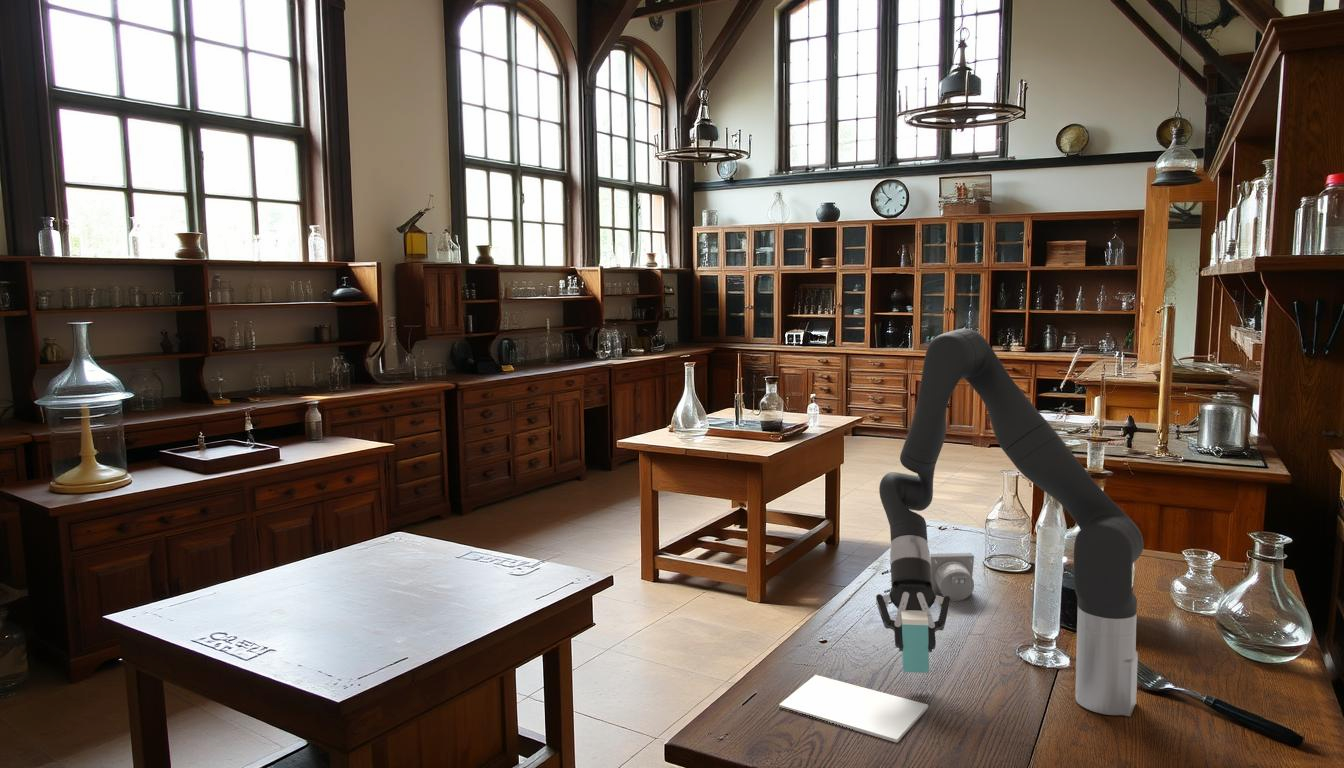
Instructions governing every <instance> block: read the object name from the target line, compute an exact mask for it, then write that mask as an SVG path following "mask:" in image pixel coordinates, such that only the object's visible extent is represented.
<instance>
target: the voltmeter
mask: <svg viewBox="0 0 1344 768" xmlns="http://www.w3.org/2000/svg"><path fill="white" fill-rule="evenodd" d="M974 560H975V555H973V554H972V553H971V552H963V553H962V552H957V553H956V552H955V553H954V552H953V553H930V562H931V575H932V588H933V591H934V592H935V594H941V595H942V597H945V596H949V597H950V601H952V600H960V601H963V600H965V599H968V598H969V596H970V595H972V594H973V591H974V589H975V583H974V582H975V581H974V579H973V576H974V575H973V573H974ZM889 573H891V569H890V570H888V569H886V571H882V572H881V575H882V576H883V575H886V574H889ZM891 589H892V587H891V588H890V589H887V590H884V591H883V593H884V594H886V593H890V591H891ZM890 604H891V605H892V604H893V603H892V602H891V601H889V604H888V605H890Z"/></svg>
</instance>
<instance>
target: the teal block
mask: <svg viewBox="0 0 1344 768" xmlns="http://www.w3.org/2000/svg"><path fill="white" fill-rule="evenodd" d="M901 619H902V624H901V628H902V638H903V651H901V662H902V665H901V666H902V671H903V673H916V674H917V673H918V674H920V673H921V674H923V673H924V674H929V673H930V658H929V657H930V656H929V655H930V652H929V650H928V645H929V643H928V617H927V612H923V611H918V610H905V611H901Z"/></svg>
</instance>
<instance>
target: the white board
mask: <svg viewBox="0 0 1344 768" xmlns="http://www.w3.org/2000/svg"><path fill="white" fill-rule="evenodd" d="M778 707H782V708H786V709H790V710H793V711H797V712H799V713H803V714H806V715H810V716H813V717H816V718H819V719H822V720H826V721H828V722H827V723H829V722H830V724H832V723H834V724H833V725H836V724H837V725H836V726H839V725H840V726H839V727H842V726H843V727H842V728H846V727H847V728H846V729H849V728H850V729H849V730H852V729H853V730H852V731H856V732H859V733H862V734H867V735H869V736H873V737H876V738H880V739H883V740H886V741H889V742H894V743H896V744H897V743H898V742H899V741H901V740H902V738H903V737H904V736H905V735H906V733H907V732H909V730H910V729H911V728H912V727H913V726H914V725H915V723H917V721H918V720H920V718H921V717H922V716H923V715H924V713H925V712H926V711H927V710H928V709H929V704H927V703H923V702H920V701H915V700H912V699H908V698H905V697H900V696H897V695H893V694H890V693H886V692H882V691H878V690H874V689H872V688H871V689H870V688H868V687H867V688H866V687H862V686H858V685H855V684H851V683H848V682H844V681H842V680H841V681H840V680H836V679H834V678H830V677H825V676H821V675H818V674H814V676H812V677H811V678H810V679H808V680H807V681H806V682H805V683H803V684H802V685H801V686H799V687H798V688H797V689H796V690H795V691H794V692H792V693H791V694H790V695H789V696H788V697H787V698H785V699H783V700H782V702H780V703H779V704H778ZM782 708H781V709H782ZM799 713H798V714H799ZM819 719H818V720H819ZM822 720H821V721H822ZM826 721H825V722H826Z"/></svg>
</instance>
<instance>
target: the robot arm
mask: <svg viewBox="0 0 1344 768" xmlns="http://www.w3.org/2000/svg"><path fill="white" fill-rule="evenodd" d="M963 379H964V380H965V381H966V382H967V383H968V384H969V385H970V387H971V388H972V389H973V390H974V391H975V392H976V393H977V395H978V396H979V397H980V399H981V400H982V402H983V404H984V406H985V408H986V410H987V413H988V417H989V420H990V423H991V426H992V430H993V433H994V434H993V435H994V436H995V439H996V441H997V444H998V445H999V447H1000V448H1001V449H1002V451H1003V452H1004V454H1005V455H1006V456H1007V457H1008V459H1009V460H1010V461H1011V462H1012V464H1013V465H1014V466H1015V468H1016V469H1017V470H1018V471H1019V472H1020V473H1021V474H1022V476H1024V477H1025V478H1026V479H1027V480H1029V481H1030V482H1031V483H1032V484H1034V485H1035V486H1037V487H1038V488H1039V489H1040V490H1042V491H1043V492H1045V493H1046V494H1048V495H1049V496H1051V498H1053V499H1054V500H1055V501H1057V503H1059V504H1060V505H1061V506H1062V507H1063V508H1064V509H1065V510H1066V512H1067V513H1068V514H1069V515H1070V517H1071V518H1072V519H1073V520H1074V522H1075V523H1076V525H1077V526H1078V527H1079V529H1080V530H1079V531H1078V532H1077V534H1076V537H1075V539H1074V547H1073V587H1074V591H1075V595H1076V597H1077V614H1076V616H1077V619H1076V620H1077V622H1076V659H1075V660H1076V661H1075V688H1074V689H1075V701H1076V703H1077V704H1079V706H1081V707H1083V708H1085V709H1086V710H1088V711H1091V712H1094V713H1098V714H1101V715H1107V716H1125V717H1131V716H1132V714H1133V711H1134V709H1135V707H1136V705H1137V693H1138V692H1137V690H1138V689H1137V688H1138V658H1139V653H1138V652H1139V651H1137V650H1136V648H1137V647H1136V643H1137V618H1138V617H1137V611H1138V599H1137V596H1136V595H1135V594H1134V592H1133V564H1134V563H1135V562H1136V561H1137V560H1138V559H1139V558H1140V557H1141V556H1142V553H1143V551H1144V547H1145V546H1144V538H1143V535H1142V532H1141V531H1140V528H1139V527H1138V525H1137V524H1136V523H1135V522H1134V521H1133V520H1132V519H1131V518H1130V516H1128V514H1127V513H1125V511H1124V510H1123V509H1121V508H1120V506H1119V505H1117V503H1116V502H1114V501H1113V500H1112V498H1110V497H1109V495H1108V494H1107V493H1106V492H1105V491H1104V490H1103V489H1102V488H1101V487H1100V486H1099V485H1098V484H1097V483H1096V482H1095V480H1094V479H1093V478H1092V477H1091V476H1090V473H1088V471H1087V470H1086V468H1084V466H1083V465H1082V463H1081V462H1080V461H1079V459H1078V458H1077V457H1076V456H1075V455H1074V453H1072V451H1071V450H1070V448H1069V447H1068V446H1067V445H1066V444H1065V442H1064V440H1063V439H1062V437H1060V435H1059V434H1058V433H1057V431H1055V429H1054V428H1053V427H1052V426H1051V424H1050V423H1049V422H1048V421H1047V420H1046V419H1045V417H1044V416H1043V415H1042V414H1041V413H1040V412H1039V410H1038V409H1037V408H1036V406H1034V404H1033V403H1032V402H1031V400H1030V399H1029V398H1028V397H1027V396H1026V394H1025V393H1024V392H1023V390H1022V389H1021V388H1020V387H1019V386H1018V385H1017V384H1016V382H1015V381H1014V380H1013V378H1012V377H1011V376H1010V374H1009V373H1008V371H1007V369H1006V368H1005V366H1004V364H1003V363H1002V362H1001V360H1000V359H999V357H998V355H997V354H996V352H995V351H994V349H993V348H992V347H991V345H990V344H989V342H988V341H987V340H986V338H985V337H984V336H983V335H982V334H980V333H979V332H978V331H976V330H974V329H970V328H958V329H954V330H951V331H947V332H943V333H941V334H939V335H937V336H935V337H933V339H932V340H931V341H930V342H929V343H928V346H927V349H926V352H925V355H924V361H923V366H922V372H921V378H920V384H919V391H918V395H917V401H916V405H915V410H914V413H913V417H912V421H911V423H910V427H909V430H908V431H907V432H908V433H907V435H906V437H905V441H904V443H903V447H902V448H901V452H900V456H899V462H900V463H901V465H902V466H903V468H905V469H907V470H909V471H911V472H912V473H915V474H917V475H913V474H907V473H901V472H895V471H891V472H890V471H889V472H888V473H886V474H885V475H883V476H882V478H881V481H880V482H879V487H878V489H879V490H878V491H879V497H880V502H881V504H882V507H883V510H884V512H885V516H886V519H887V521H888V524H889V529H890V550H889V558H890V560H889V564H890V570H891V572H890V580H891V582H890V583H891V588H892V589H891V588H890V592H888V594H884V595H882V594H881V593H878V594H876V596H875V601H876V606H877V609H878V611H879V614H880V618H881V621H882V624H883V626H884V628H885V629H890V630H892V631H893V633H894V646H895V648H896V649H898V651H899V652H902V651H903V638H902V628H901V624H902V619H901V611H905V610H918V611H923V612H927V617H928V643H929V645H928V650H929V653H932V652H933V650H935V649H936V645H937V642H936V632H938V631H944V630H945V626H946V621H947V618H948V613H949V609H950V605H951V604H950V603H951V600H950V597H949V596H945V597H944V596H940V595H937V593H935V592H934V591H933V588H932V575H931V562H930V556H931V552H930V549H929V545H928V544H929V543H928V528H927V522H926V520H925V518H924V517H923V516H922V515H921V514H920V513H917V512H921V511H924V510H926V509H928V507H930V505H931V503H932V501H933V498H934V497H933V495H934V476H935V469H936V464H937V461H938V459H939V457H940V454H941V452H942V451H941V450H942V448H943V445H944V442H945V438H946V434H947V408H948V403H949V401H950V398H951V396H952V394H953V392H954V390H955V388H956V387H957V386H958V383H959V382H960V380H963ZM915 511H916V512H915ZM890 601H891V602H892V603H891V604H893V605H894V607H895V608H896V609H897V612H896V616H895V620H893V619H891V616H890V613H889V611H888V607H889V605H890V604H889V602H890ZM934 603H936V604H937V608H938V609H939V610H940V611H939V616H938V620H935V621H934V620H933V617H932V613H931V611H930V610H931V607H932V606H933V605H934Z"/></svg>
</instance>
